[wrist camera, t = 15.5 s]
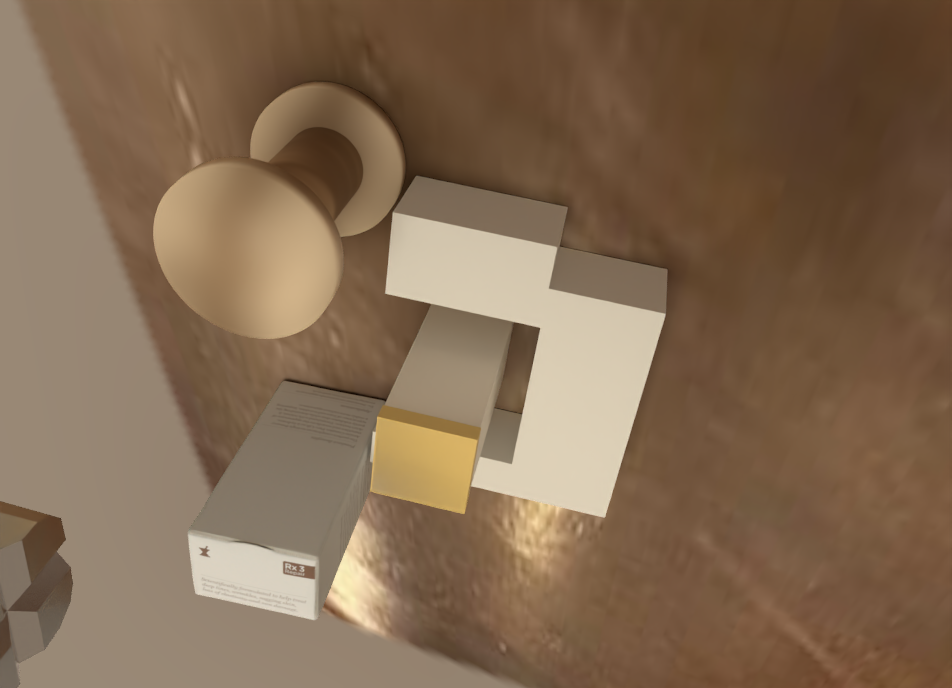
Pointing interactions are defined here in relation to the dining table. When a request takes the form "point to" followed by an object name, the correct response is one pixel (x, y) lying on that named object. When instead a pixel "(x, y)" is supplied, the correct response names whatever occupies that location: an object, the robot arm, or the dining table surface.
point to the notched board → (560, 339)
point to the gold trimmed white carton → (441, 409)
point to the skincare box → (287, 502)
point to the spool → (280, 211)
